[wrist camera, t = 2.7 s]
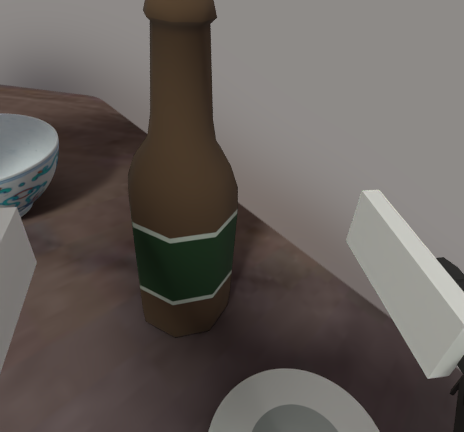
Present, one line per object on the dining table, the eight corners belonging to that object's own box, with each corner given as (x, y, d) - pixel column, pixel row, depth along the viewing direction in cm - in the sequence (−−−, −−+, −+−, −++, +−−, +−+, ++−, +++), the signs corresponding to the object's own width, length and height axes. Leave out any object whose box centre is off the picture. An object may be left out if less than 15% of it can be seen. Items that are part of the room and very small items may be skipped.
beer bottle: (169, 358, 29) (148, 11, 14) (123, 294, 34) (70, -20, 19) (246, 310, 33) (290, 0, 19) (195, 258, 38) (198, -23, 23)
